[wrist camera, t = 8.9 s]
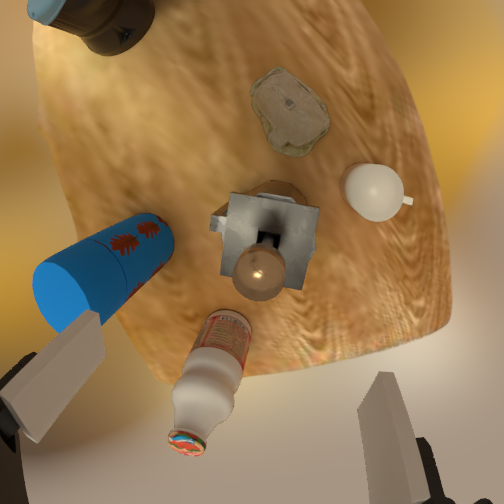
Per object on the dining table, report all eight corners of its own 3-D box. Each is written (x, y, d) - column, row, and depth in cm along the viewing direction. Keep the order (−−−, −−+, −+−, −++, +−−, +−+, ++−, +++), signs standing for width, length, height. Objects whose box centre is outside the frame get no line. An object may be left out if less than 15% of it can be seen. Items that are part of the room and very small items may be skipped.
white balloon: (344, 157, 42) (356, 158, 33) (400, 172, 41) (422, 177, 32) (335, 203, 44) (345, 215, 36) (390, 216, 44) (410, 230, 35)
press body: (235, 174, 45) (205, 185, 29) (313, 188, 44) (326, 206, 28) (227, 233, 48) (196, 273, 32) (301, 247, 47) (306, 294, 31)
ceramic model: (344, 128, 40) (358, 121, 31) (288, 168, 44) (288, 171, 34) (288, 62, 38) (287, 39, 28) (233, 101, 41) (218, 88, 32)
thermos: (186, 238, 49) (106, 307, 26) (157, 278, 53) (82, 356, 30) (141, 200, 48) (40, 241, 25) (116, 243, 52) (26, 300, 28)
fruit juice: (244, 304, 52) (204, 427, 26) (257, 344, 55) (232, 466, 29) (198, 312, 54) (136, 422, 28) (214, 350, 57) (170, 461, 31)
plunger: (248, 190, 37) (213, 219, 21) (307, 200, 37) (320, 238, 20) (240, 245, 40) (204, 310, 23) (295, 255, 40) (297, 328, 23)
